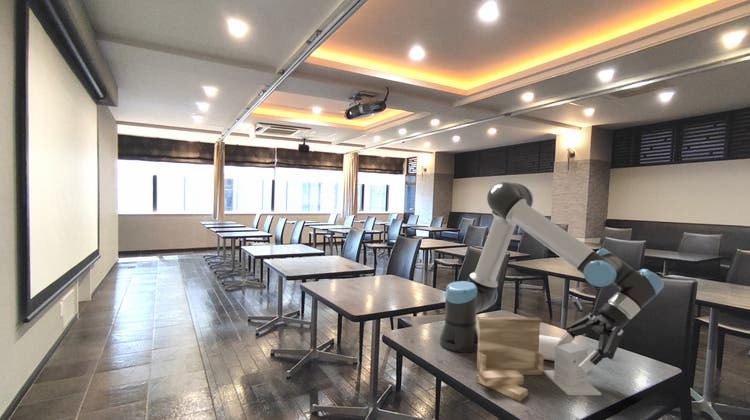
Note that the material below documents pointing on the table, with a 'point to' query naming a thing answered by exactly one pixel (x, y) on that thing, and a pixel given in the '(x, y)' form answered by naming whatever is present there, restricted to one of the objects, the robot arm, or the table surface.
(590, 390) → the white flat plate
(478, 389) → the table surface
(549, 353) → the white rounded block
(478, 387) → the table surface
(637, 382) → the table surface
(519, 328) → the birch rack
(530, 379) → the table surface
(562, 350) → the small box
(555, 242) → the robot arm
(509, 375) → the upper pine offcut
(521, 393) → the lower pine offcut
